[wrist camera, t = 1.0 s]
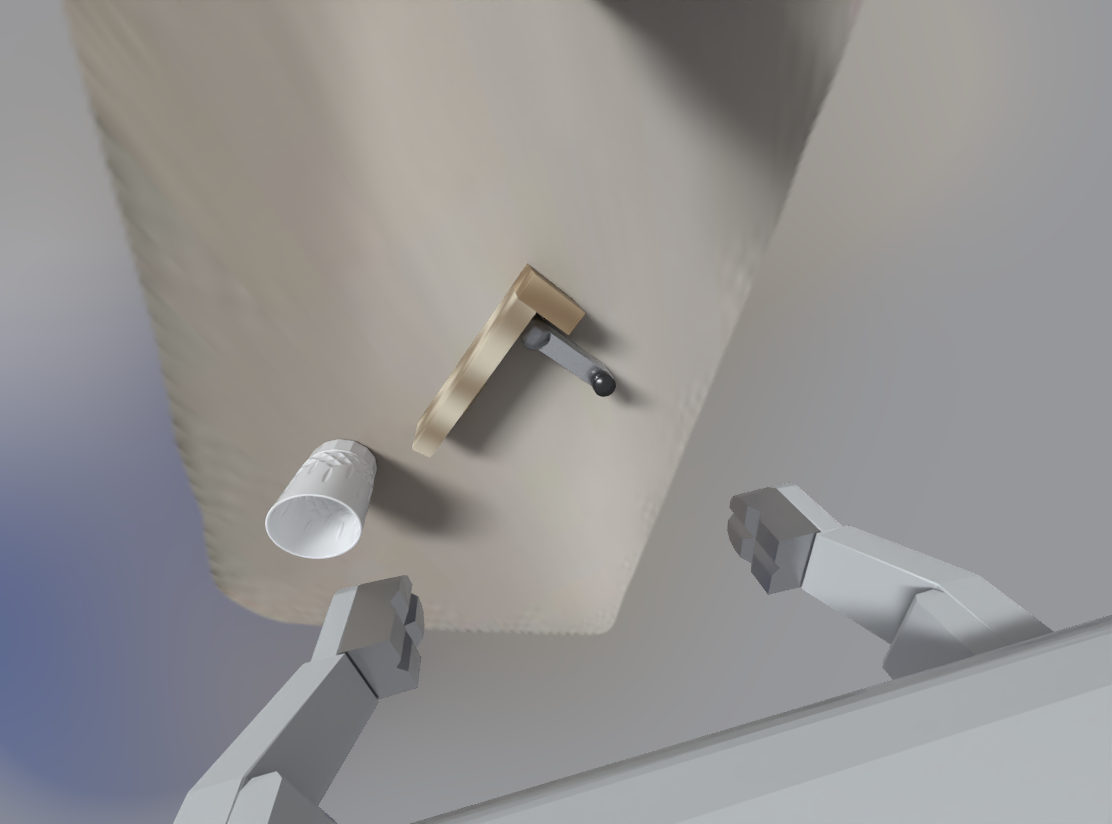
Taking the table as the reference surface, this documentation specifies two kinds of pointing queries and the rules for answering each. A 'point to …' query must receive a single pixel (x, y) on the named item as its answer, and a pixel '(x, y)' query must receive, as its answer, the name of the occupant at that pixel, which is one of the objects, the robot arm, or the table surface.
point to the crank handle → (567, 355)
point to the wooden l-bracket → (493, 351)
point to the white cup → (325, 502)
